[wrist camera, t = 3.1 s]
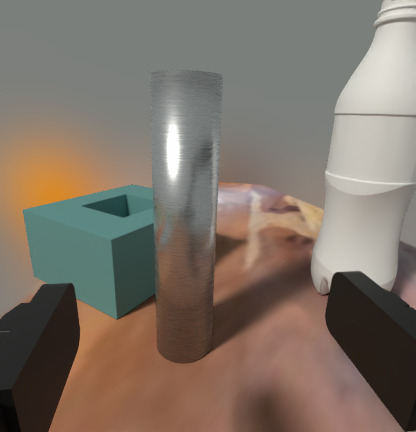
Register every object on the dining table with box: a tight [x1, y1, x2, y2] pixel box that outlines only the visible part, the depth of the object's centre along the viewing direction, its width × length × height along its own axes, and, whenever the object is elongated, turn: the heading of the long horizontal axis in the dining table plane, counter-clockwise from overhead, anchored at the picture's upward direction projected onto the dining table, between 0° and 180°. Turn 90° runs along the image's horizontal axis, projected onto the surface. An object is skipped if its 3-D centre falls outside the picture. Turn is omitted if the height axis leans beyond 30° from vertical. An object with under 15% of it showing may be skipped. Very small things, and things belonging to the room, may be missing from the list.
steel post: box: [150, 70, 223, 363], centre depth 19 cm, size 4×4×18 cm
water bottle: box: [311, 0, 416, 295], centre depth 25 cm, size 7×7×25 cm
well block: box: [23, 185, 155, 319], centre depth 32 cm, size 14×12×7 cm
